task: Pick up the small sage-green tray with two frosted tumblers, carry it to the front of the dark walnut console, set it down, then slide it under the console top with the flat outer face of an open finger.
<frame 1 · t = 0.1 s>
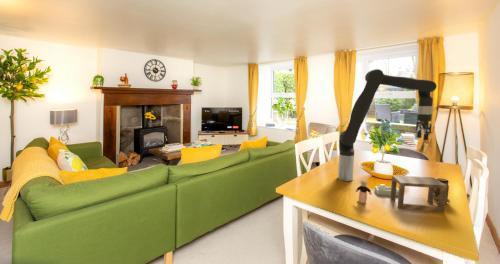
hand: (422, 138, 156), 29 cm above the table, fingers open, 8 cm apart
brown wooden side table: (415, 205, 127), on the table
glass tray: (387, 193, 143), on the table
condiment: (440, 201, 133), on the table
grandmother figurine: (362, 203, 131), on the table
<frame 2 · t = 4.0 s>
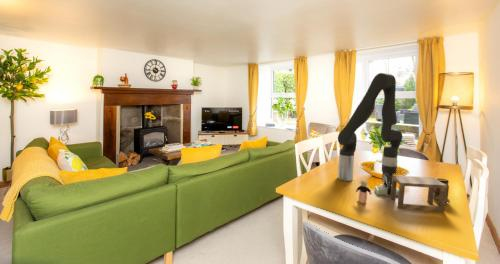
hand: (387, 192, 143), 1 cm above the table, fingers closed on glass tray, 6 cm apart
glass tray: (387, 193, 143), on the table, touching gripper
everything else where it was.
when the fingers open (2 cm above the table, at t = 9.2 s): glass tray stays where it is, on the table.
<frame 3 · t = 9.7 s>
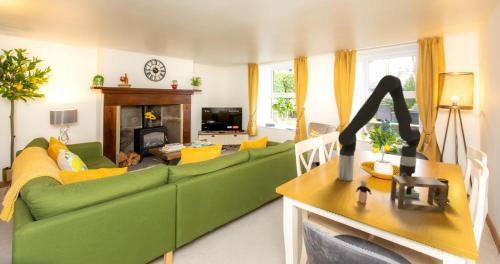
hand: (405, 191, 140), 2 cm above the table, fingers open, 8 cm apart
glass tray: (404, 195, 140), on the table
everything else where it was.
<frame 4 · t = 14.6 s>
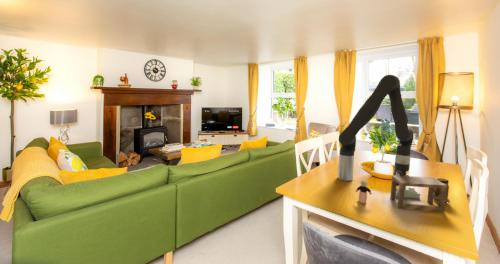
hand: (399, 188, 147), 1 cm above the table, fingers open, 8 cm apart
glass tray: (405, 196, 139), on the table, touching gripper
everything else where it was.
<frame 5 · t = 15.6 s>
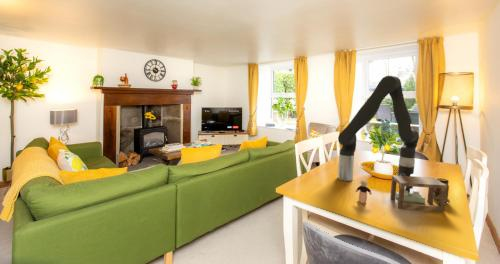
hand: (403, 191, 142), 1 cm above the table, fingers open, 8 cm apart
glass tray: (409, 200, 134), on the table, touching gripper
everything else where it was.
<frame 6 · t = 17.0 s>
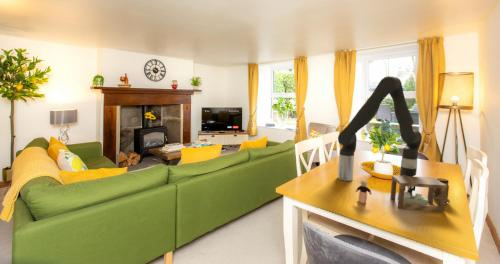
hand: (405, 193, 139), 1 cm above the table, fingers open, 8 cm apart
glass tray: (412, 202, 131), on the table, touching gripper
everything else where it was.
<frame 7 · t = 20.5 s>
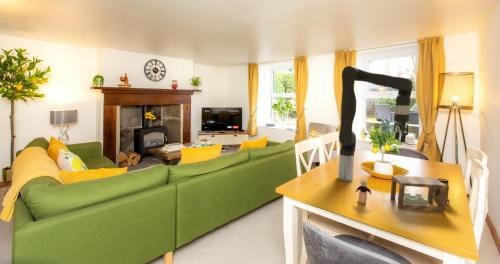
hand: (399, 141, 144), 30 cm above the table, fingers open, 8 cm apart
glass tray: (412, 202, 131), on the table
everything else where it was.
at the end: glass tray inside the target area on the brown wooden side table (3.8 cm from its centre), point 0.0 cm above the brown wooden side table's base; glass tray tilted 0° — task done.
